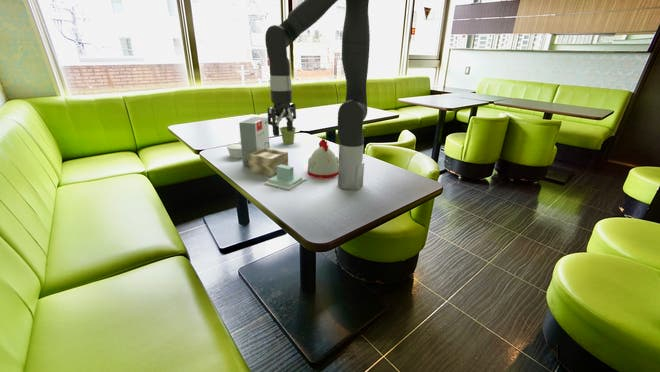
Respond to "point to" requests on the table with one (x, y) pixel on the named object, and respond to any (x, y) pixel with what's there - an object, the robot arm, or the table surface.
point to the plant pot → (287, 135)
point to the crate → (267, 161)
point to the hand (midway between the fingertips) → (283, 133)
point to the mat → (283, 185)
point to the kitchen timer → (323, 162)
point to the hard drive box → (253, 136)
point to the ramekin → (235, 150)
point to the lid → (285, 176)
